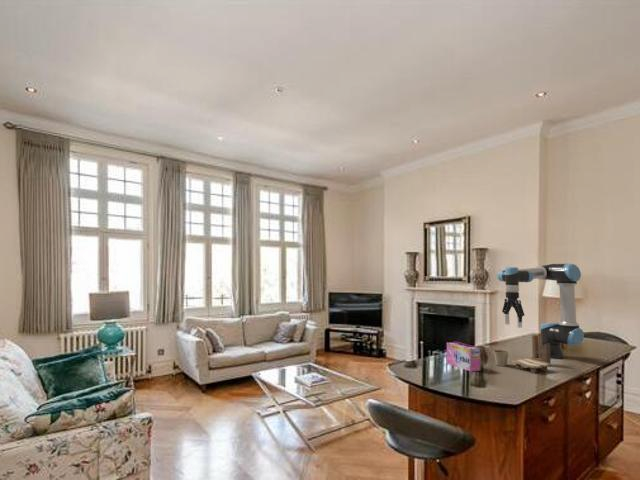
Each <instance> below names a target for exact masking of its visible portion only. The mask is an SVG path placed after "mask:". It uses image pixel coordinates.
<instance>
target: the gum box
mask: <svg viewBox="0 0 640 480" xmlns="http://www.w3.org/2000/svg"><path fill="white" fill-rule="evenodd" d="M481 360H482V359H481V348H480V347H478V346H474V345H470V344H468V343H467V344H466V343H463V342H460V341H455V340H454V341H453V342H446V364H449V365H452V366H454V367H457V368H460V369H463V370H465V371H468V372H479V371H482V367H481V366H482V363H481Z"/></svg>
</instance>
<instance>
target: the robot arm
mask: <svg viewBox="0 0 640 480" xmlns="http://www.w3.org/2000/svg"><path fill="white" fill-rule="evenodd" d="M581 276H582V274H581V269H580V268H579V266H578V265H577V264H574V263H567V262H566V263H549V264H544V265H539V266H536V267H532V268H531V267H530V268H521V269H520V268H519V267H515V266H513V267H511V266H510V267H505V269H503V270H499V271H498V273H497V279H498V280H499V281H500V282H503V283H505V286H504V287H505V291H506V292H505V298H504V302H503V306H502V309H501V310H502V311H501V312H502V313H503V314H504V325H510V312H511V309H512V308H513V309H514V311H515V313H516V326H517V327H516V328H523V317H525V312H524V309H523V306H522V301H521V300H520V299H519V298H520V292H519V291H520V287H519V285H520V284H519V283H531V282H533V280H536V279H537V280H539V281H541V280H546V281H554V282H555V281H556V285H558V287H559V288H558V289H559V302H560V303H559V306H560V322H546V323H541V325H540V338H541V339H540V342H541V345H540V348H539V350H540V349H541V348H542V347H543V346H544V345H545V344H547V343H550V359H558V360H560V359H564V358H565V354H564V352H563V348H562V346H561V344H562V345H569V346H575V347H576V346H579V345H581V344H582V343H583V341H584V339H585V333H584V331H583V329H582V328H580V325H579V323H577V313H576V292H575V290H576V289H575V286H576V285H577V284H578V281H580V280H581ZM539 357H540V358H542V354H540V353H539Z"/></svg>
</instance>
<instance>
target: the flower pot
mask: <svg viewBox="0 0 640 480" xmlns="http://www.w3.org/2000/svg"><path fill="white" fill-rule="evenodd" d="M492 352H493V356H494V360H495V365H496V366H499V367H507V366H508V356H509V353H510V352H509V351H508V350H504V349H493V350H492Z"/></svg>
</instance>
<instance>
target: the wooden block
mask: <svg viewBox="0 0 640 480" xmlns="http://www.w3.org/2000/svg"><path fill="white" fill-rule="evenodd" d="M531 341H532V342H531V346H532V347H531V348H532V357H531V358H530V359H533V360H537V361H542V362H546V363H550V364H551V365H552V363H551V358H550V343H547V344H545V345H544V346H543V347H542V348H541V347H540V348H541V349H540V348H539V346H540V344H539V335H538V334H532V335H531ZM539 353H540V354H542V357H540V356H539Z"/></svg>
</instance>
